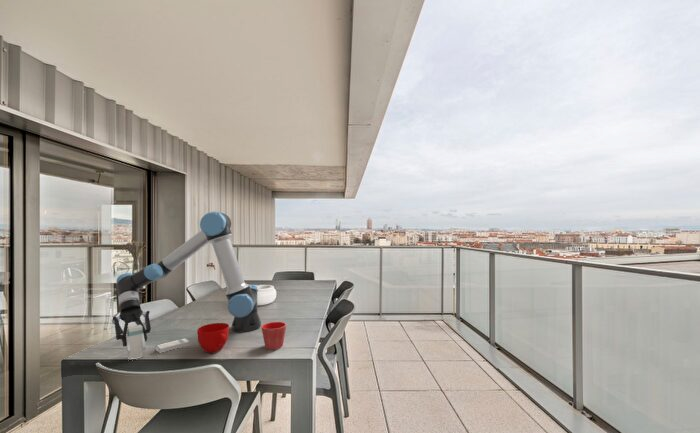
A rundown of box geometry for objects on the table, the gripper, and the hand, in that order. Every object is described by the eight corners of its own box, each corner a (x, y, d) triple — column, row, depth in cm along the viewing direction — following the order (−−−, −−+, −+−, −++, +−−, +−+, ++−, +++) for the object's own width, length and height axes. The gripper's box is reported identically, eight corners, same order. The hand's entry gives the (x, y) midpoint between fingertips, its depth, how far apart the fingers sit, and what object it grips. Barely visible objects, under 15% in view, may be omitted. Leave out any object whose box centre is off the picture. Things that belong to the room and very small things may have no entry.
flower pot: (265, 342, 141) (265, 321, 141) (288, 342, 141) (288, 321, 141) (258, 351, 130) (258, 329, 131) (282, 351, 130) (282, 328, 130)
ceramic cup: (209, 361, 121) (209, 336, 122) (192, 350, 132) (192, 328, 132) (238, 351, 131) (238, 328, 131) (220, 342, 142) (220, 321, 142)
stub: (140, 354, 129) (140, 324, 130) (142, 357, 126) (142, 326, 126) (127, 358, 126) (127, 327, 126) (129, 361, 123) (129, 329, 123)
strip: (185, 342, 142) (185, 337, 142) (189, 345, 138) (189, 341, 138) (155, 350, 134) (155, 345, 134) (159, 353, 130) (159, 348, 130)
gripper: (150, 304, 143) (159, 348, 131) (103, 312, 131) (108, 361, 119) (153, 295, 140) (162, 339, 128) (105, 302, 127) (110, 352, 115)
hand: (136, 350), depth 123 cm, fingers closed on stub, 4 cm apart
